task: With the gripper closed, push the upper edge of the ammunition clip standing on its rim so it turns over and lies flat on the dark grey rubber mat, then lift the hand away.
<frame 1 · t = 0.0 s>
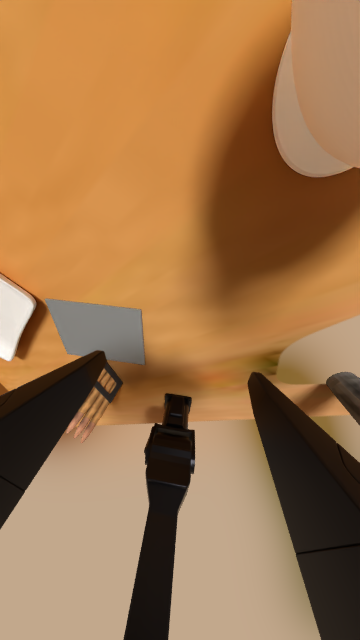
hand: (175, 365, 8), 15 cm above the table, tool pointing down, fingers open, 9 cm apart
ammunition clip: (108, 367, 31), on the table, touching mat
decorative vase: (354, 74, 11), on the table
mat: (100, 334, 27), on the table
beverage cup: (339, 379, 25), on the table
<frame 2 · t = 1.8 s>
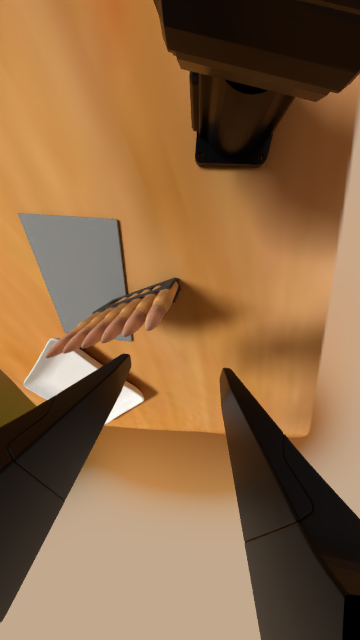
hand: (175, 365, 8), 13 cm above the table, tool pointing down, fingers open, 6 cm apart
salad plate: (91, 379, 32), on the table
ammunition clip: (145, 294, 20), on the table, touching mat
mat: (86, 288, 21), on the table
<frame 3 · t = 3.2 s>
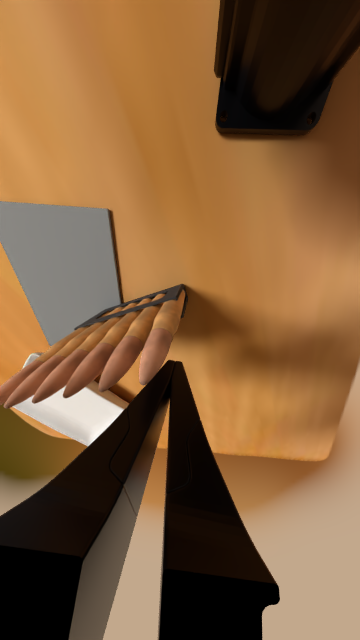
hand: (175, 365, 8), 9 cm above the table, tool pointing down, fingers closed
salad plate: (82, 395, 29), on the table
ammunition clip: (144, 304, 16), on the table, touching gripper, mat
mat: (72, 295, 17), on the table
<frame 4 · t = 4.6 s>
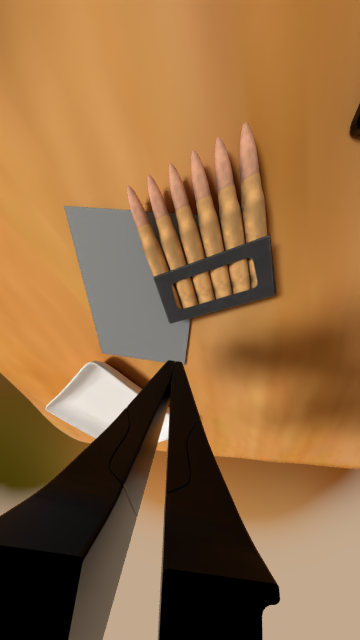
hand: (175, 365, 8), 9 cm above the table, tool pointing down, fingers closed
salad plate: (122, 401, 28), on the table
ammunition clip: (217, 309, 14), point 1 cm above the table, touching mat
mat: (139, 303, 16), on the table
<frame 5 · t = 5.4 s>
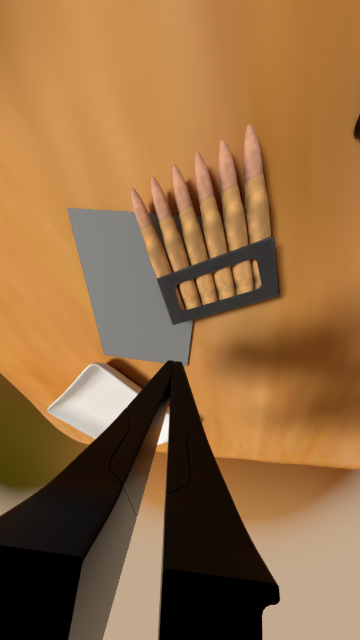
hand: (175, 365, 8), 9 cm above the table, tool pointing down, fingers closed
salad plate: (124, 403, 28), on the table
ammunition clip: (220, 310, 14), point 1 cm above the table, touching mat
mat: (141, 304, 16), on the table
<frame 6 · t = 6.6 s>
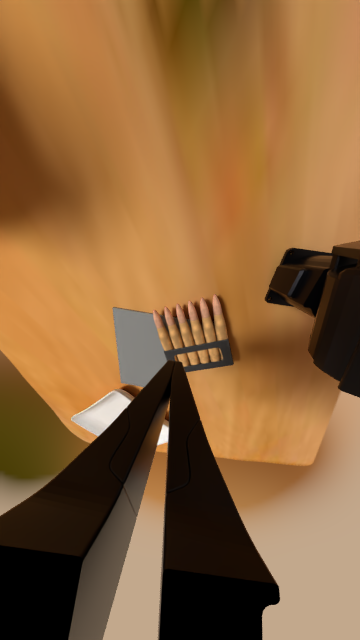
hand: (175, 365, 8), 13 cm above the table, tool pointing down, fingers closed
salad plate: (130, 414, 37), on the table
ammunition clip: (201, 366, 24), point 1 cm above the table, touching mat
mat: (151, 356, 25), on the table
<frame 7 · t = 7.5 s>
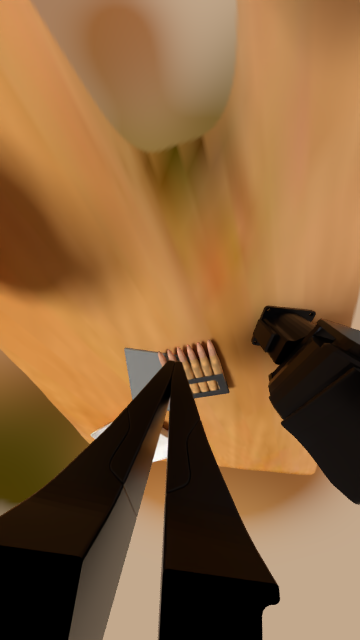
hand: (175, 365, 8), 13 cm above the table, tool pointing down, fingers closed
salad plate: (141, 429, 41), on the table
ammunition clip: (201, 393, 27), point 1 cm above the table, touching mat
mat: (158, 384, 29), on the table
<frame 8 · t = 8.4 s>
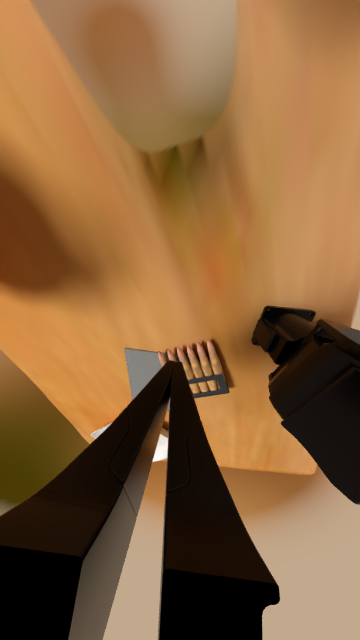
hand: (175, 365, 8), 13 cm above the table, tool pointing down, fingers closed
salad plate: (141, 429, 41), on the table
ammunition clip: (201, 393, 27), point 1 cm above the table, touching mat
mat: (158, 384, 29), on the table
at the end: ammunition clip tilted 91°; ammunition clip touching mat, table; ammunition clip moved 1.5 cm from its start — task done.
